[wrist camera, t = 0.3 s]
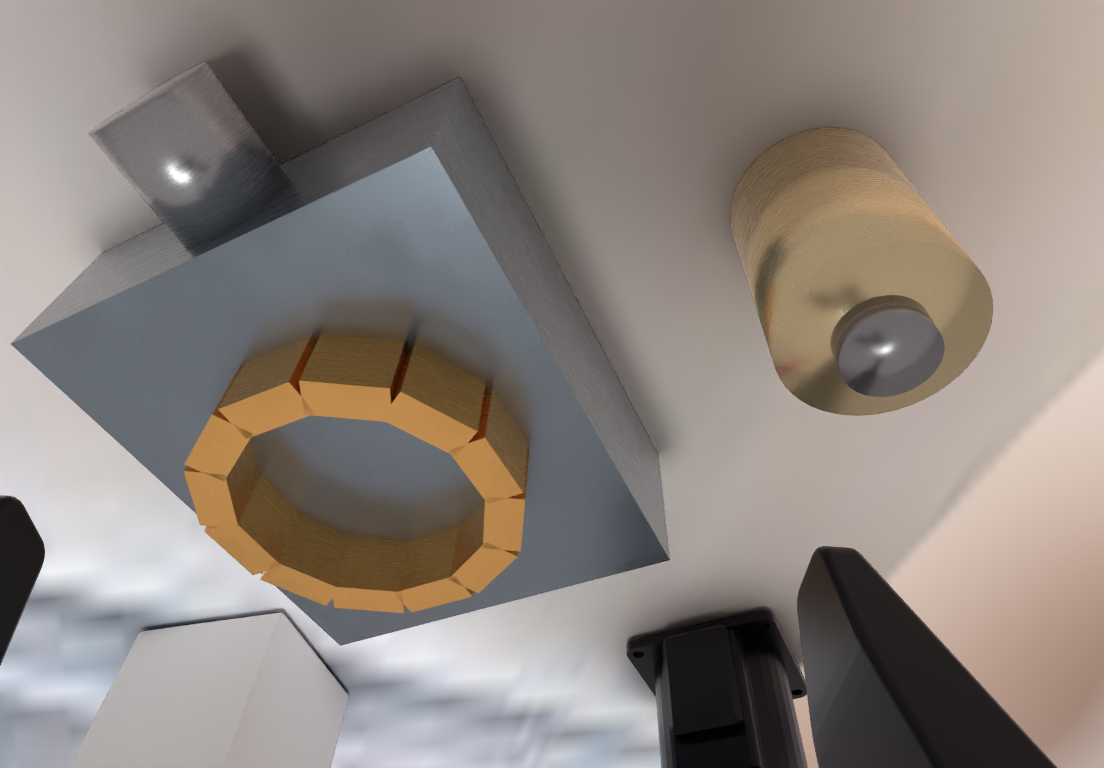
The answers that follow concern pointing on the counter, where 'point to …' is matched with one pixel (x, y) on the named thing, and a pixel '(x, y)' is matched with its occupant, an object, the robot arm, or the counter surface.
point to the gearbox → (356, 363)
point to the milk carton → (218, 701)
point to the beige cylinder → (855, 276)
